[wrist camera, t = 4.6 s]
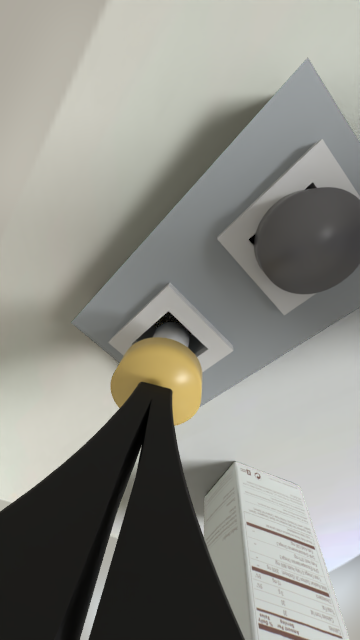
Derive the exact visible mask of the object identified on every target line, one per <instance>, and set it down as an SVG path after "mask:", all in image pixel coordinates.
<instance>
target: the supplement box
mask: <svg viewBox="0 0 360 640" xmlns="http://www.w3.org/2000/svg"><path fill="white" fill-rule="evenodd" d="M204 540H205V542H206V545H207V548H208V551H209V554H210V557H211V559H212V562H213V564H214V567H215V569H216V572H217V574H218V577H219V579H220V582H221V584H222V587H223V589H224V592H225V594H226V597H227V599H228V601H229V604H230V606H231V608H232V611H233V613H234V616H235V618H236V620H237V622H238V625H239V627H240V629H241V632H242V634H243V636H244V638H245V640H350V639H349V636H348V632H347V629H346V627H345V623H344V620H343V617H342V614H341V611H340V608H339V604H338V601H337V598H336V595H335V592H334V589H333V586H332V583H331V580H330V577H329V574H328V571H327V567H326V564H325V561H324V558H323V555H322V552H321V549H320V546H319V543H318V539H317V536H316V533H315V531H314V527H313V524H312V521H311V518H310V515H309V512H308V509H307V506H306V503H305V500H304V496H303V493H302V490H301V488H300V487H299V486H298V485H296V484H293V483H291V482H289V481H286V480H283V479H281V478H278V477H276V476H273V475H271V474H268V473H266V472H263V471H260V470H258V469H255V468H252V467H250V466H247V465H244V464H242V463H239V462H234V463H233V464H232V465H231V466H230V468H229V469H228V470H227V471H226V472H225V474H224V475H223V476H222V477H221V478H220V480H219V481H218V482H217V483H216V484H215V486H214V487H213V488H212V489H211V490H210V491H209V493H208V494H207V495H206V496H205V497H204Z"/></svg>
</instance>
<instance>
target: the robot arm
mask: <svg viewBox="0 0 360 640" xmlns="http://www.w3.org/2000/svg"><path fill="white" fill-rule="evenodd" d="M172 394H173V391H172V390H171V389H170V388H166V387H162V386H158V385H154V384H150V383H146V382H140V383H139V384H138V385H137V387H136V388H135V390H134V391H133V393H132V394H131V395H130V397H129V398H128V399H127V400H126V402H125V403H124V404H123V405H122V406H121V407H120V409H119V410H118V411H117V412H116V413H115V414H114V415H113V416H112V418H111V419H110V420H109V421H108V422H107V423H106V424H105V425H104V426H103V427H102V428H101V429H100V430H99V431H98V432H97V433H96V434H95V435H94V436H93V437H92V438H91V439H90V440H89V441H88V442H87V443H86V444H85V445H84V446H83V447H81V448H80V449H79V450H78V451H77V452H76V453H75V454H74V455H72V456H71V457H70V458H69V459H68V460H67V461H66V462H64V463H63V464H62V465H61V466H60V467H58V468H57V469H56V470H55V471H53V472H52V473H51V474H50V475H49V476H47V477H46V478H45V479H44V480H42V481H41V482H40V483H38V484H37V485H36V486H35V487H33V488H32V489H31V490H29V491H28V492H27V493H25V494H24V495H22V496H21V497H20V498H18V499H17V500H16V501H14V502H13V503H11V504H10V505H9V506H7V507H6V508H4V509H3V510H2V511H0V640H80V636H81V633H82V630H83V626H84V623H85V619H86V616H87V612H88V609H89V605H90V602H91V598H92V595H93V591H94V588H95V584H96V581H97V578H98V574H99V571H100V567H101V564H102V561H103V557H104V554H105V550H106V547H107V543H108V540H109V537H110V533H111V530H112V526H113V523H114V520H115V516H116V514H117V511H118V508H119V505H120V502H121V499H122V497H123V494H124V491H125V488H126V486H127V483H128V480H129V478H130V475H131V472H132V470H133V467H134V464H135V462H136V459H137V456H138V454H139V451H140V448H141V452H140V458H139V463H138V468H137V474H136V478H135V481H134V485H133V488H132V492H131V495H130V499H129V502H128V506H127V509H126V513H125V516H124V520H123V523H122V527H121V530H120V534H119V537H118V541H117V544H116V548H115V551H114V554H113V558H112V561H111V565H110V568H109V572H108V575H107V579H106V582H105V585H104V589H103V592H102V596H101V599H100V603H99V606H98V609H97V613H96V616H95V620H94V623H93V627H92V630H91V634H90V637H89V640H245V638H244V636H243V634H242V632H241V629H240V627H239V625H238V622H237V620H236V618H235V616H234V613H233V611H232V608H231V606H230V604H229V601H228V599H227V597H226V594H225V592H224V589H223V587H222V584H221V582H220V579H219V577H218V574H217V572H216V569H215V567H214V564H213V562H212V559H211V557H210V554H209V551H208V548H207V545H206V542H205V540H204V537H203V534H202V531H201V528H200V526H199V523H198V520H197V517H196V514H195V511H194V508H193V504H192V501H191V498H190V495H189V491H188V488H187V484H186V480H185V477H184V473H183V469H182V464H181V460H180V455H179V451H178V445H177V440H176V434H175V427H174V420H173V408H172ZM141 446H142V447H141Z"/></svg>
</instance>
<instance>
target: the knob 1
mask: <svg viewBox="0 0 360 640" xmlns="http://www.w3.org/2000/svg"><path fill="white" fill-rule="evenodd" d="M188 346H189V334H188V332H187V330H186V329H185V328H184V327H183V326H182V325H180V324H178V323H175V322H166V323H163V324H161V325H160V326H158V327H157V329H156V331H155V333H154V335H153V337H152V338H147V339H143V340H140V341H138V342H136V343H135V344H133V345H132V346H131V347H130V348H129V349H128V350H127V352H126V353H125V355H124V356H123V358H122V360H121V362H120V363H119V365H118V367H117V369H116V370H115V372H114V374H113V376H112V379H111V393H112V396H113V399H114V401H115V402H116V404H117V405H118V407H119V408H120V407H121V406H122V405H123V404H124V403H125V402H126V400H127V399H128V398H129V397H130V395H131V394H132V393H133V391H134V390H135V388H136V387H137V385H138V384H139V383H140V382H146V383H150V384H154V385H158V386H162V387H166V388H170V389H171V390H172V391H173V394H172V408H173V420H174V426H175V425H179V424H181V423H184V422H186V421H187V420H189V419H190V418H191V417H192V416H194V415H195V413H196V412H197V410H198V409H199V406H200V403H201V394H202V367H201V364H200V362H199V360H198V358H197V357H196V355H195V354H194V353H193V352H192V351H191V350H190V349H189V348H188Z"/></svg>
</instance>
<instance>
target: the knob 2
mask: <svg viewBox="0 0 360 640" xmlns="http://www.w3.org/2000/svg"><path fill="white" fill-rule="evenodd" d="M254 252H255V257H256V260H257V262H258V264H259V266H260V268H261V269H262V270H263V272H264V273H265V274H266V276H267V277H268V278H269V279H270V281H271V282H272V283H273V284H275V285H276V286H277V287H279V288H281V289H282V290H284V291H287V292H290V293H294V294H314V293H318V292H322V291H325V290H328V289H330V288H332V287H334V286H336V285H337V284H339V283H341V282H342V281H343V280H345V279H346V278H347V277H348V276H349V275H351V274H352V273H353V272H354V270H355V269H356V268H357V267H358V266H359V264H360V199H358V198H357V197H356V196H355V195H353V194H352V193H350V192H348V191H346V190H343V189H339V188H334V187H321V188H314V189H307V190H302V191H297V192H294V193H292V194H289V195H287V196H285V197H284V198H282V199H280V200H279V201H278V202H276V203H275V204H274V205H273V206H272V207H271V208H270V209H269V210H268V211H267V212H266V214H265V215H264V216H263V218H262V220H261V221H260V223H259V226H258V228H257V231H256V234H255V239H254Z"/></svg>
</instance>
